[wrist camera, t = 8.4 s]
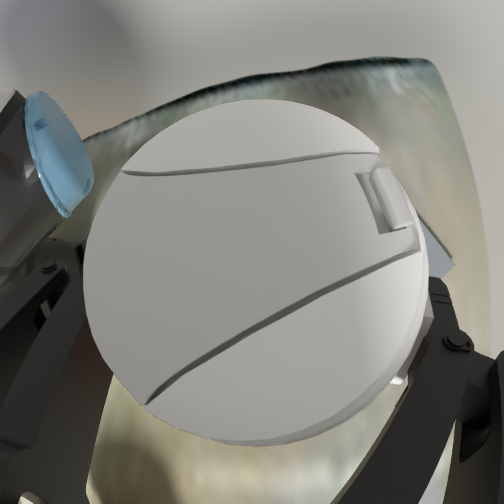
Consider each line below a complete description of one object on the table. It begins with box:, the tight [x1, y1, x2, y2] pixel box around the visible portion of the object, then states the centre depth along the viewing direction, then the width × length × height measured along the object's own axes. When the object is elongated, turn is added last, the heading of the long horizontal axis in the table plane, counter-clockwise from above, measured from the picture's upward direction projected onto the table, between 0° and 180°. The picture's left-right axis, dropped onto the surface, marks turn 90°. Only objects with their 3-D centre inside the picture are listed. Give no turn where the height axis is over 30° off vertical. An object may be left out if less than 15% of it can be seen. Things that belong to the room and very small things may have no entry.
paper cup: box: [83, 99, 429, 447], centre depth 12 cm, size 8×8×14 cm
